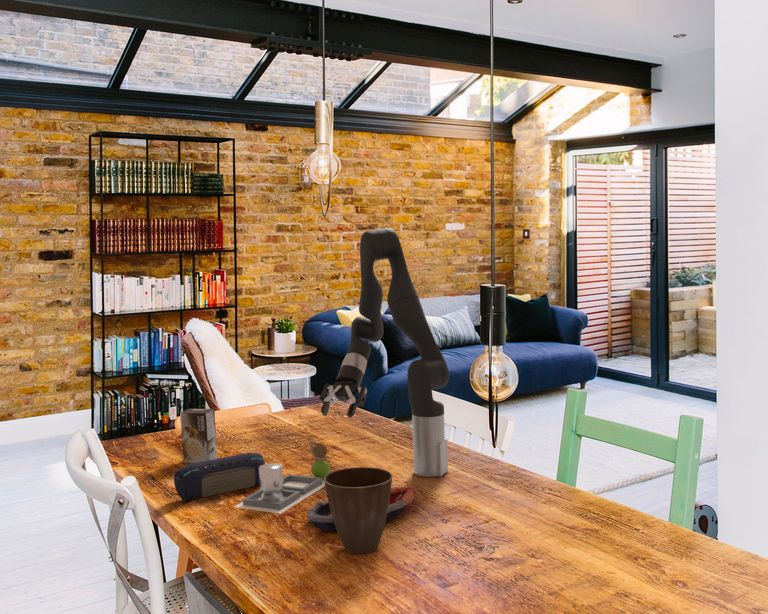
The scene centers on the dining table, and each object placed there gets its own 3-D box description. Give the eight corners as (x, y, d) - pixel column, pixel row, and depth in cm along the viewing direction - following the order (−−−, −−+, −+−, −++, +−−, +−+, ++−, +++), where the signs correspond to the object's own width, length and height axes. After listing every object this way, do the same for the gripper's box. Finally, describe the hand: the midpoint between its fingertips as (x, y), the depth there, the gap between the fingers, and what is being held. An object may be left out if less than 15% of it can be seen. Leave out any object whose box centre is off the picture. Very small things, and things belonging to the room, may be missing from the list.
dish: (294, 523, 186) (293, 503, 186) (399, 497, 203) (399, 478, 202) (325, 543, 173) (324, 521, 173) (434, 513, 190) (434, 493, 189)
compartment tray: (331, 487, 212) (330, 476, 212) (281, 519, 189) (280, 507, 188) (287, 482, 218) (287, 471, 218) (233, 512, 194) (233, 501, 194)
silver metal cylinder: (288, 498, 199) (286, 464, 198) (275, 506, 194) (274, 471, 193) (268, 496, 202) (267, 462, 201) (255, 503, 196) (254, 469, 195)
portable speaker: (184, 509, 198) (182, 471, 197) (171, 499, 206) (169, 463, 206) (273, 489, 212) (271, 454, 211) (258, 481, 220) (256, 446, 219)
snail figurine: (316, 474, 224) (314, 433, 223) (334, 477, 221) (332, 436, 220) (304, 479, 220) (303, 438, 219) (323, 482, 216) (321, 440, 215)
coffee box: (218, 458, 245) (215, 408, 243) (209, 464, 238) (206, 413, 237) (192, 457, 247) (189, 407, 245) (182, 463, 241) (179, 412, 239)
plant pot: (312, 548, 170) (310, 478, 168) (362, 529, 180) (360, 462, 179) (358, 567, 159) (356, 492, 158) (408, 546, 170) (406, 475, 168)
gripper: (327, 363, 239) (310, 407, 230) (369, 364, 233) (353, 410, 224) (336, 376, 245) (320, 420, 235) (376, 379, 239) (361, 423, 229)
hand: (336, 415), depth 230 cm, fingers open, 8 cm apart
